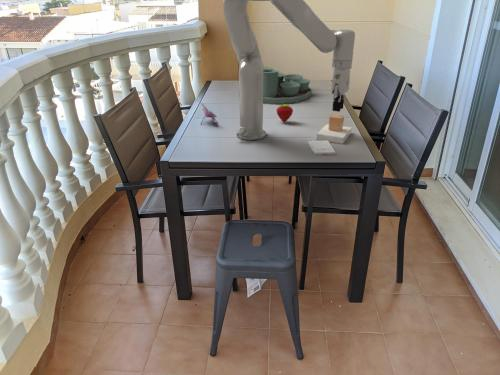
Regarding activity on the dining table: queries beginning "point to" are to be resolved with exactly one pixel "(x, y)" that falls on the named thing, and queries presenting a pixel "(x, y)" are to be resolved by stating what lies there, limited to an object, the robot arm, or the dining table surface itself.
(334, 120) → the plug
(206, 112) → the lily
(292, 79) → the tea set
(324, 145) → the external hard drive
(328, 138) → the socket
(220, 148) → the dining table surface
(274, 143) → the dining table surface
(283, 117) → the strawberry
